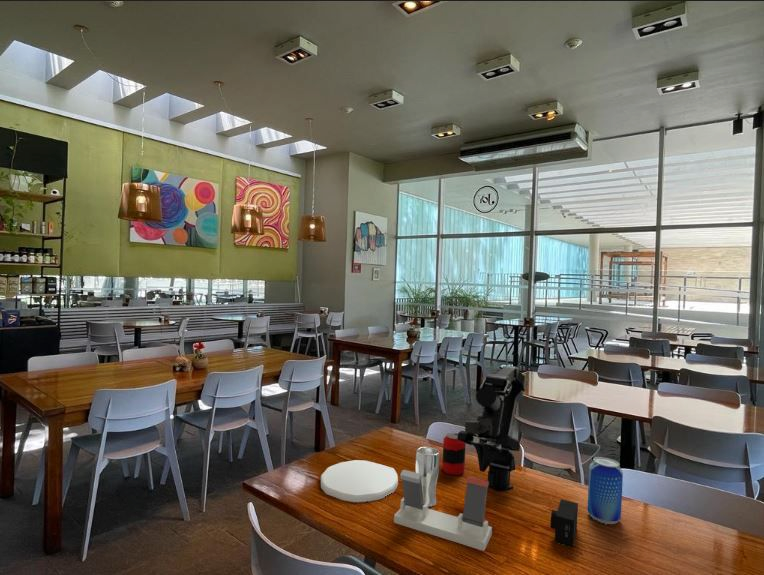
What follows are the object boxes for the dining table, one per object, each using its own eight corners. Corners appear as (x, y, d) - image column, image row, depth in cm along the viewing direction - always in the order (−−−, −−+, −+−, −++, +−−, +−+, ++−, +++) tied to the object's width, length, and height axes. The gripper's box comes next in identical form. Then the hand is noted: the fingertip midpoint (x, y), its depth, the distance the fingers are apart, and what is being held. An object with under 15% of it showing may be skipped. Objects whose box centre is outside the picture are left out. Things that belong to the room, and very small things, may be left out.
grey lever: (407, 501, 118) (403, 469, 115) (424, 506, 116) (421, 474, 113) (404, 507, 117) (400, 474, 113) (422, 512, 114) (418, 479, 111)
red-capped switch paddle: (463, 521, 111) (469, 476, 114) (483, 527, 108) (488, 481, 112) (461, 522, 109) (467, 476, 112) (481, 528, 107) (487, 481, 110)
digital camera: (555, 522, 118) (556, 497, 118) (576, 528, 116) (578, 502, 116) (549, 541, 109) (550, 513, 109) (572, 548, 106) (574, 520, 106)
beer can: (617, 514, 124) (620, 458, 124) (623, 529, 116) (626, 469, 116) (585, 508, 127) (587, 453, 127) (589, 522, 119) (591, 464, 119)
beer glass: (436, 509, 122) (439, 456, 122) (412, 506, 124) (414, 453, 124) (438, 498, 129) (440, 448, 129) (415, 494, 130) (417, 445, 130)
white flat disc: (348, 449, 154) (411, 466, 142) (348, 461, 154) (410, 479, 142) (303, 474, 133) (372, 497, 120) (302, 488, 133) (372, 511, 120)
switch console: (406, 509, 122) (406, 492, 122) (491, 534, 111) (492, 516, 111) (393, 522, 114) (394, 504, 114) (484, 551, 104) (485, 531, 104)
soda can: (467, 469, 150) (469, 435, 150) (459, 477, 144) (460, 441, 144) (447, 464, 154) (449, 430, 155) (438, 471, 148) (440, 436, 148)
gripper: (450, 406, 131) (438, 459, 125) (499, 408, 116) (489, 468, 110) (474, 418, 136) (464, 469, 130) (524, 421, 122) (516, 479, 115)
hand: (481, 471), depth 121 cm, fingers closed
